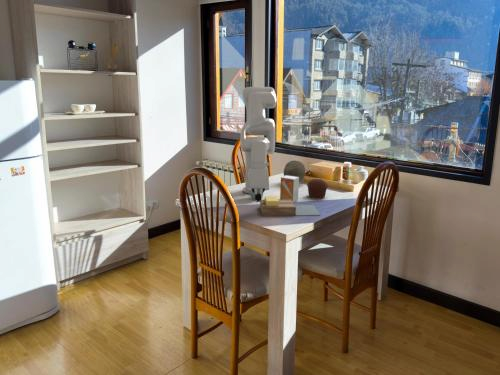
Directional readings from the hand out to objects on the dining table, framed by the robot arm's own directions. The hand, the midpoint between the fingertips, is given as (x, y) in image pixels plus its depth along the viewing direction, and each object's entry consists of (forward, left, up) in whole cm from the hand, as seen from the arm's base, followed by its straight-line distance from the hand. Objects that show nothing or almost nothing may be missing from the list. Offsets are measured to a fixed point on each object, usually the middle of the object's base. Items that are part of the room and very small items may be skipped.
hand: (258, 201), depth 205 cm
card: (0, +7, -1) cm, 7 cm away
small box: (-19, +19, -5) cm, 27 cm away
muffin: (-26, +36, -5) cm, 45 cm away
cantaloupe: (-55, +28, -5) cm, 62 cm away
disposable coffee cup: (-23, +1, -5) cm, 24 cm away
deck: (0, +10, -5) cm, 11 cm away
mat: (0, +24, -5) cm, 24 cm away
